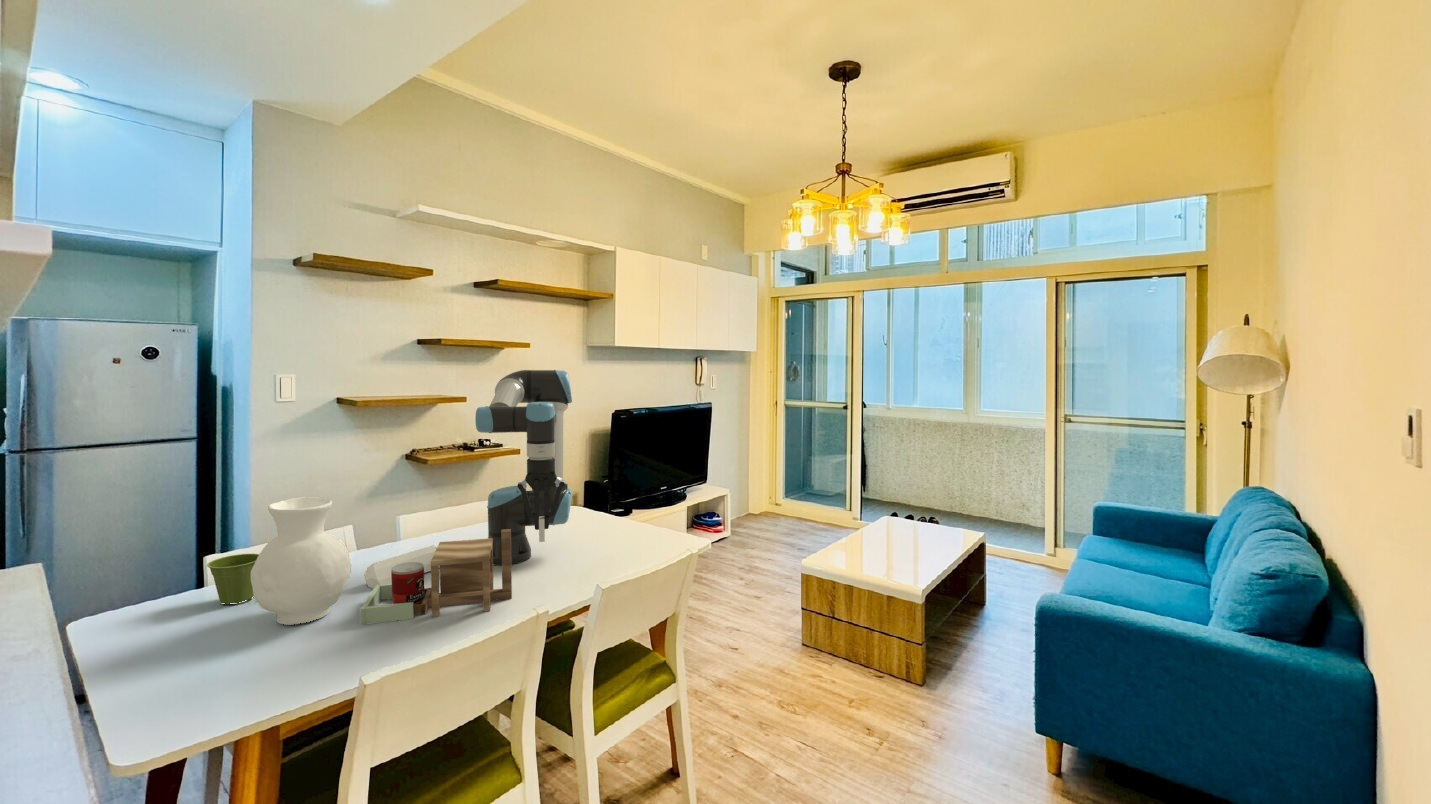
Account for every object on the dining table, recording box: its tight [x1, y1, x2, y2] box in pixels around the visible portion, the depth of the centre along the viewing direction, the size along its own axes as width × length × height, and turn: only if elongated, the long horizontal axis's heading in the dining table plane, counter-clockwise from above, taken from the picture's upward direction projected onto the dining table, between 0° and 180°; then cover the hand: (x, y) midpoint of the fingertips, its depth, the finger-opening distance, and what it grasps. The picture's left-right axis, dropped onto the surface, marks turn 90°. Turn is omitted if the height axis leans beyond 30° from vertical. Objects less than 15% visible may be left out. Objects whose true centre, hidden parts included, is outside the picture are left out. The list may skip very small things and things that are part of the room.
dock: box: [359, 583, 415, 625], centre depth 161 cm, size 16×12×4 cm
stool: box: [430, 537, 494, 618], centre depth 166 cm, size 16×14×15 cm
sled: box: [413, 529, 513, 616], centre depth 165 cm, size 12×30×19 cm, turn 107°
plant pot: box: [206, 553, 260, 605], centre depth 165 cm, size 12×12×11 cm
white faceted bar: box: [363, 544, 440, 590], centre depth 184 cm, size 7×7×24 cm
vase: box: [251, 496, 352, 626], centre depth 154 cm, size 19×21×30 cm
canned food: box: [391, 562, 425, 605], centre depth 162 cm, size 8×8×11 cm
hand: (541, 540), depth 171 cm, fingers closed
